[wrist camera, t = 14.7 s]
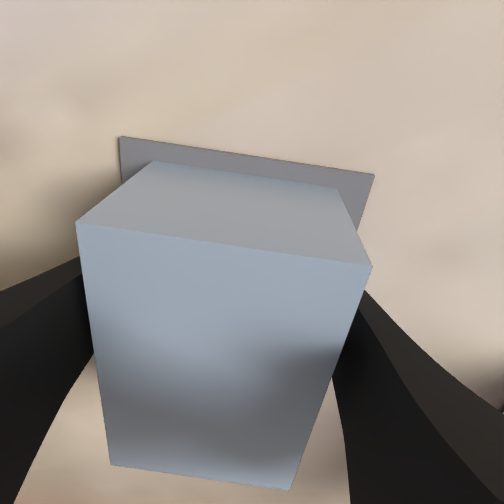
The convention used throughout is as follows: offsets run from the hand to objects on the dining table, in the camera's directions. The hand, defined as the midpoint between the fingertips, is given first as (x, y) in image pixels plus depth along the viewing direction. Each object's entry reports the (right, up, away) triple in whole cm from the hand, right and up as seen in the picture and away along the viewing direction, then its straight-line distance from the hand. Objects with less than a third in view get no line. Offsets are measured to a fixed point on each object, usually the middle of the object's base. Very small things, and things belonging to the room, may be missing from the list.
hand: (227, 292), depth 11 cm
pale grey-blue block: (0, 0, +2) cm, 2 cm away
